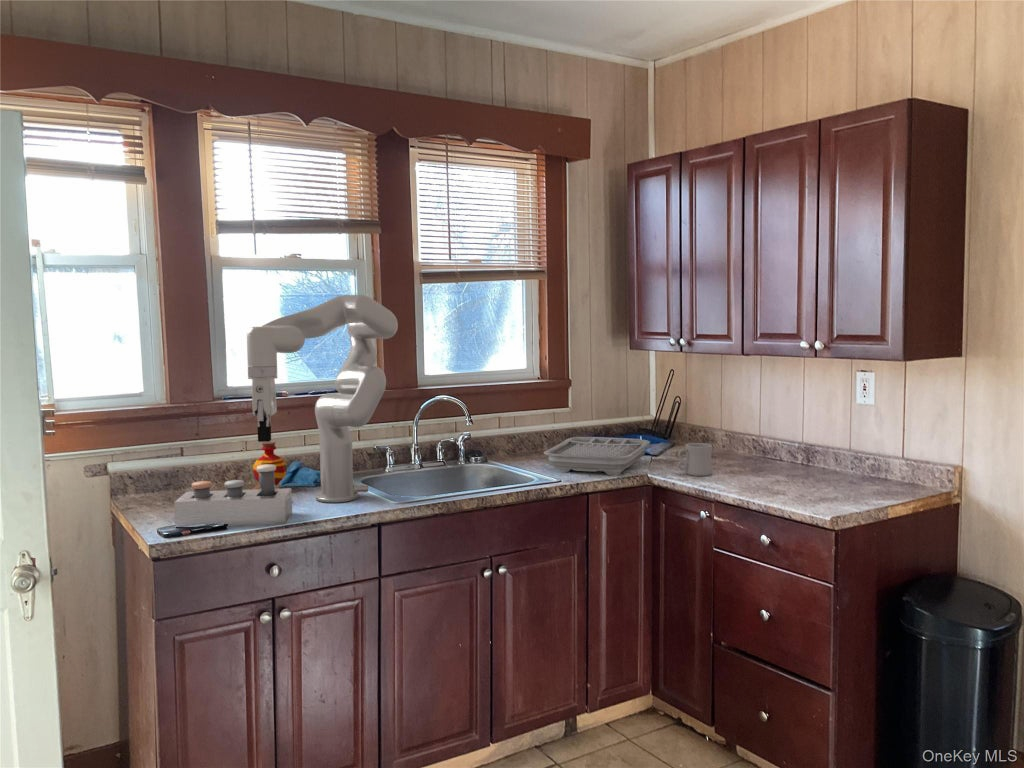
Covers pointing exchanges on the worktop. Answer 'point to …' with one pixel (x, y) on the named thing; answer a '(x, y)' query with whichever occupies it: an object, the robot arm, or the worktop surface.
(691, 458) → the mug
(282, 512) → the mount
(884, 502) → the worktop surface
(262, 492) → the knob
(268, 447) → the potion bottle
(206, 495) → the knob
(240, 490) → the knob mid
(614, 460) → the dish rack
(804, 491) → the worktop surface
